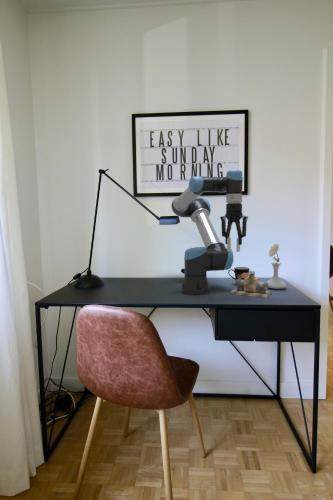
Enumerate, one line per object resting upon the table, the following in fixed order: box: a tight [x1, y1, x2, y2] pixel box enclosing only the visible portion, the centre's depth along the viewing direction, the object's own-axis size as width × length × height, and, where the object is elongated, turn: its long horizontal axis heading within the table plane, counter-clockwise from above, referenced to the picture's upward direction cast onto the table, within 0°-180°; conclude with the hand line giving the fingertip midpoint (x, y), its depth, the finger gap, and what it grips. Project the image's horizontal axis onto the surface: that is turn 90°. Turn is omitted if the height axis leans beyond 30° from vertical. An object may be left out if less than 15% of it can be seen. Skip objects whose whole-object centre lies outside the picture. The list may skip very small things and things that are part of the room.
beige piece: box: [230, 273, 273, 299], centre depth 166 cm, size 18×10×10 cm, turn 57°
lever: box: [241, 270, 256, 278], centre depth 161 cm, size 14×3×2 cm, turn 147°
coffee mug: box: [227, 266, 250, 281], centre depth 188 cm, size 12×9×10 cm
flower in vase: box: [266, 243, 287, 290], centre depth 177 cm, size 13×11×25 cm
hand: (233, 251), depth 159 cm, fingers open, 4 cm apart
